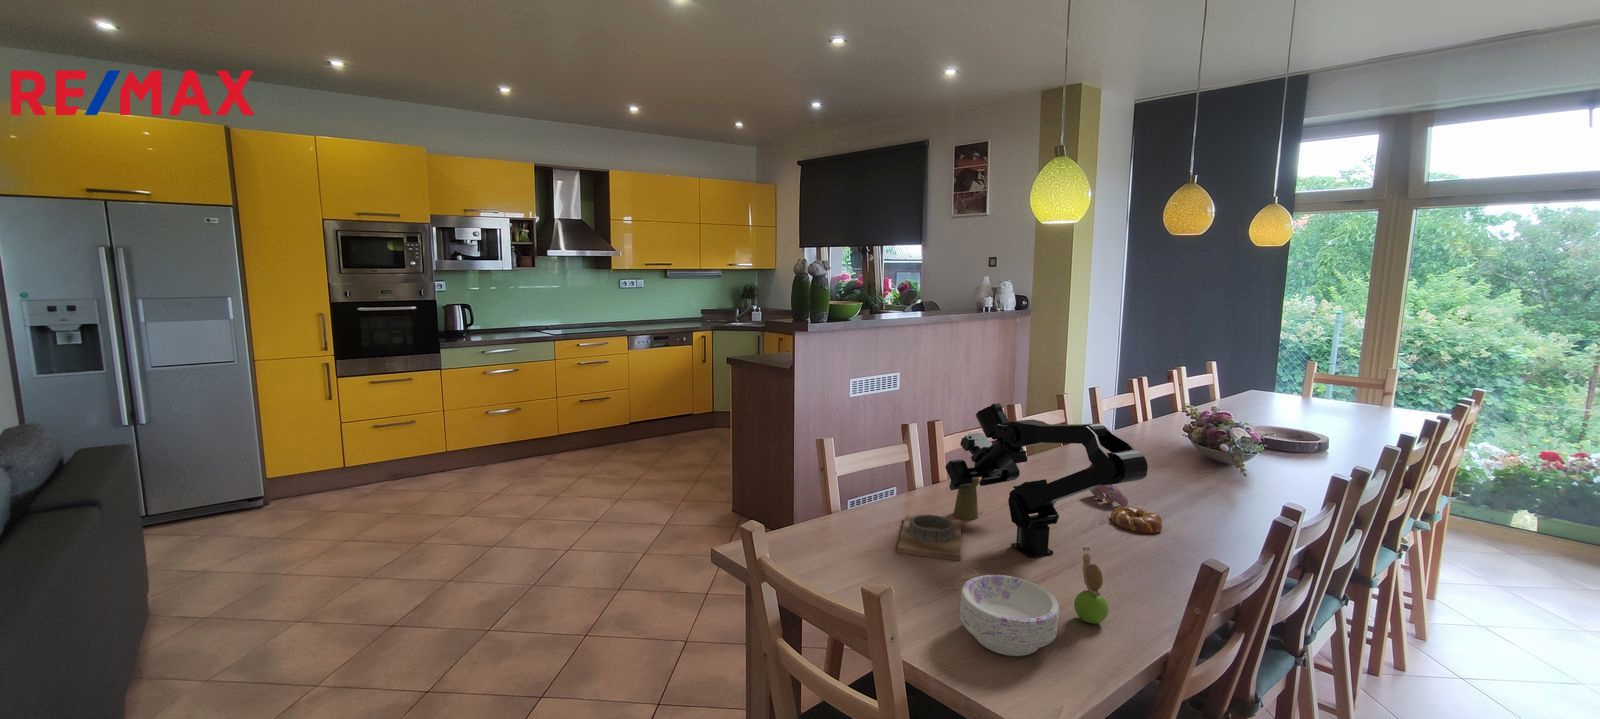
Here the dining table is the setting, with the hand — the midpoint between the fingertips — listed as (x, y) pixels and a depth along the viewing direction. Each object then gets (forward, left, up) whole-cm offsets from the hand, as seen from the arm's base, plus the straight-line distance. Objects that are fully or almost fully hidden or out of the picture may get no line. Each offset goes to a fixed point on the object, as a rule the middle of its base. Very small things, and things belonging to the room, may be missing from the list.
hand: (965, 486), depth 163 cm
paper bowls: (-51, +26, -7) cm, 57 cm away
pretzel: (-18, -37, -8) cm, 42 cm away
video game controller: (-3, -43, -7) cm, 44 cm away
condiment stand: (-11, +16, -7) cm, 21 cm away
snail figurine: (-50, +8, -7) cm, 51 cm away
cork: (-1, 0, -7) cm, 7 cm away
